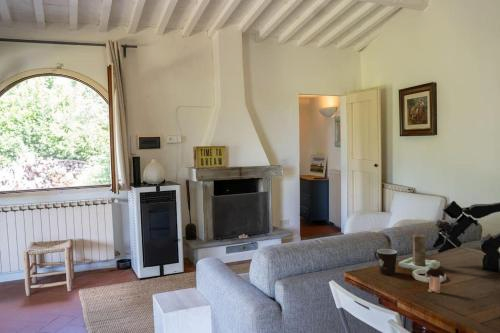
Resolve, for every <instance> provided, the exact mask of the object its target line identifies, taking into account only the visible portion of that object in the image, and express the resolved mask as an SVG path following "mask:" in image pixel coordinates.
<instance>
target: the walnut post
mask: <svg viewBox="0 0 500 333" xmlns="http://www.w3.org/2000/svg"><path fill="white" fill-rule="evenodd" d="M412 257H413V264H414V265H416V266H426V265H425V259H426V236H425V235H424V234H412Z"/></svg>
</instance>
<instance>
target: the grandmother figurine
mask: <svg viewBox="0 0 500 333" xmlns="http://www.w3.org/2000/svg"><path fill="white" fill-rule="evenodd" d="M439 262H440V261H438V260H436V259H432V261H431V266H432V268H430V269H429V270H428V271H427V272H426V274H425V275H424V277H426V278H427V277H430V283H429V289H428V290H427V292H429V293H435V294H441V282H440V277H441V276H442V277H443V279H444V280H445V281H447V276H446V277H445V275H446V274H445V272H443V271H442V270H441V269H439V268H440V267H441V263H440V264H439ZM439 266H440V267H439ZM429 275H430V276H429ZM439 275H440V276H439Z"/></svg>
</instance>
